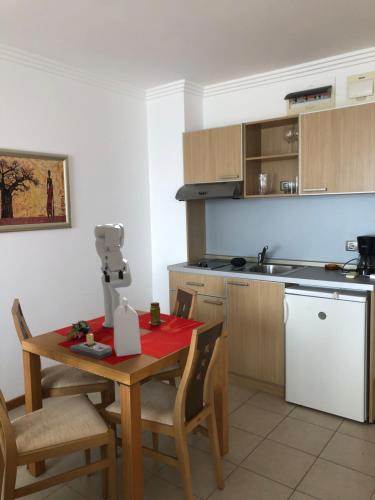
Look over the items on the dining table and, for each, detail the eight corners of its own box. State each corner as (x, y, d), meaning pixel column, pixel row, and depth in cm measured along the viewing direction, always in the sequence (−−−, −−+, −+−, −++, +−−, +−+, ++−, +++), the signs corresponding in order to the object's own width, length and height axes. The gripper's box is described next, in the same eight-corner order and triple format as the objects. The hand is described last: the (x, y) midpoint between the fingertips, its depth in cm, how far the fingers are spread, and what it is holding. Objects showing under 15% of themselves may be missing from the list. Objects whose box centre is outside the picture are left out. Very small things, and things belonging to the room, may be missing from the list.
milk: (141, 353, 199) (139, 300, 196) (117, 356, 196) (114, 302, 193) (137, 345, 210) (134, 295, 207) (114, 348, 207) (111, 297, 204)
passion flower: (84, 345, 229) (97, 326, 229) (78, 348, 218) (91, 329, 219) (68, 333, 230) (80, 315, 230) (61, 336, 219) (74, 317, 219)
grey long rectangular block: (70, 350, 206) (69, 341, 205) (82, 345, 212) (82, 337, 211) (99, 359, 192) (99, 350, 192) (111, 354, 198) (111, 345, 198)
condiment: (147, 322, 250) (147, 303, 249) (159, 319, 255) (158, 300, 254) (154, 325, 244) (153, 305, 243) (166, 322, 249) (165, 302, 248)
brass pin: (86, 352, 203) (85, 334, 202) (92, 350, 204) (91, 333, 203) (88, 354, 200) (87, 336, 199) (95, 352, 202) (94, 334, 201)
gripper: (105, 251, 213) (106, 284, 215) (129, 247, 226) (130, 278, 228) (95, 250, 217) (97, 282, 219) (119, 247, 231) (121, 277, 233)
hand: (114, 280), depth 224 cm, fingers open, 9 cm apart
